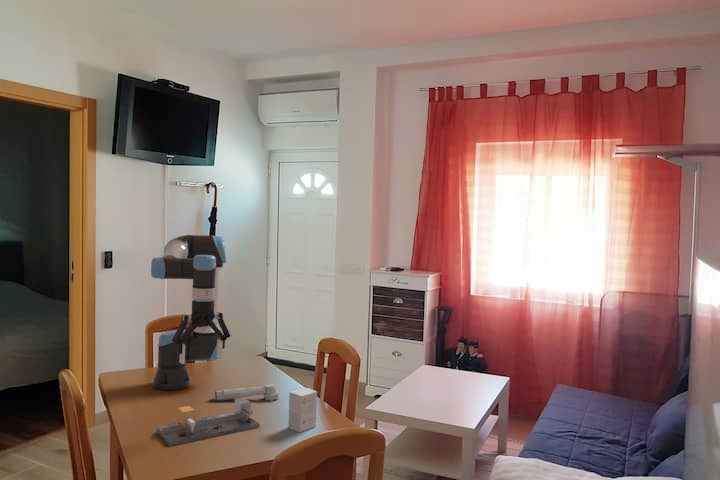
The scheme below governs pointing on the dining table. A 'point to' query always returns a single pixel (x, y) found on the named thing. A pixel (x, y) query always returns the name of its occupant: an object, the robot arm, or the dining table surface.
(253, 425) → the bolt plate
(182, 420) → the block
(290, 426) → the small box
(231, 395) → the white elongated piece
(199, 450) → the dining table surface
